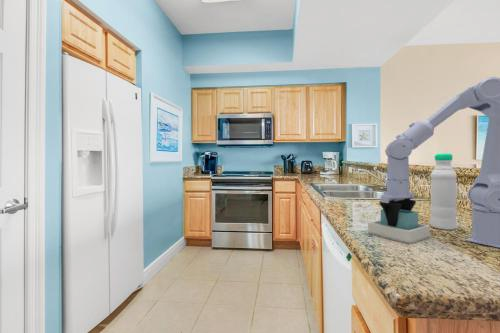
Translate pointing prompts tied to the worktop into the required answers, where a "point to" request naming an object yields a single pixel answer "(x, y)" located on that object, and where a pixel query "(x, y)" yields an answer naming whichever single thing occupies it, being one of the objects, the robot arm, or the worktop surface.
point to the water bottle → (443, 194)
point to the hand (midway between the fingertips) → (397, 224)
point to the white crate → (399, 232)
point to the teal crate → (403, 220)
